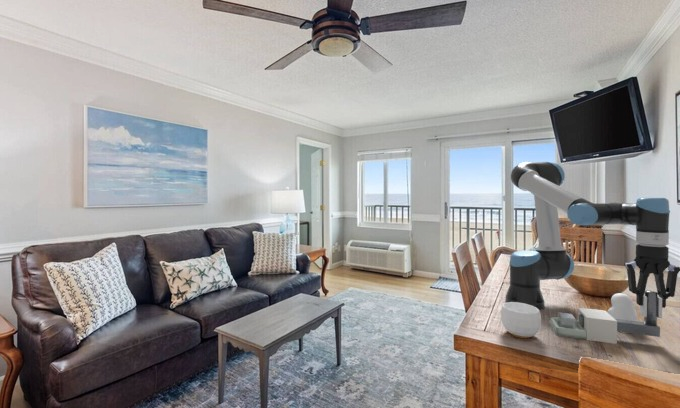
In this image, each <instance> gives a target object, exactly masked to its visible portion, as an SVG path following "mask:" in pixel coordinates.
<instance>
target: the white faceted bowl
mask: <svg viewBox="0 0 680 408" xmlns="http://www.w3.org/2000/svg"><path fill="white" fill-rule="evenodd" d="M500 320H501V324H502V326H503V328H504V329H505V330H506V331H507V332H508V333H510V334H511V335H512V336H514V337H515V338H520V339H529V338H530V337H534V336H537V334H538V333H539V332H540V329H541V326H542V315H541V311H540V309H538V308H536V307H534V306H532V305H528V304H525V303H518V302H504V303H502V306H501V309H500Z"/></svg>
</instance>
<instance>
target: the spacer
mask: <svg viewBox="0 0 680 408" xmlns="http://www.w3.org/2000/svg"><path fill="white" fill-rule="evenodd" d="M557 318H558V326H559V327H563V328H570V329H575V320H576V318H575V316H573V314H572V313H568V312H567V313H566V312H558V311H557Z"/></svg>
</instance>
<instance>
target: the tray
mask: <svg viewBox="0 0 680 408" xmlns="http://www.w3.org/2000/svg"><path fill="white" fill-rule="evenodd" d="M549 319H550V320H549V325H550V326H551V329H552V331H553V332H554V334H555V335H556V336H558V337H564V338H565V337H566V338H571V339H579V340H580V339H581V340H585V341H586V331H585V330H580V329H579V328H578V319H575V329H570V328H563V327H559V326H558V317H553V316H552V317H551V316H550V318H549Z"/></svg>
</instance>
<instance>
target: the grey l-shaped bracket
mask: <svg viewBox="0 0 680 408" xmlns="http://www.w3.org/2000/svg"><path fill="white" fill-rule="evenodd" d="M644 296H646V297H647V317H644V316H643V321H630V320H622V319H615V320H616V321H617V333H619V332H620V333H626V334H627V333H628V334H632V335H633V334H634V335H642V336H648V337H649V336H650V337H658V338H660V337H661V327H660V326H659V325H658V317H657V297H658V296H659V295H658V293H657V291H654V290H646V289H645V293H644ZM579 324H580V325H581V327H584V316H583V315H579Z"/></svg>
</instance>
